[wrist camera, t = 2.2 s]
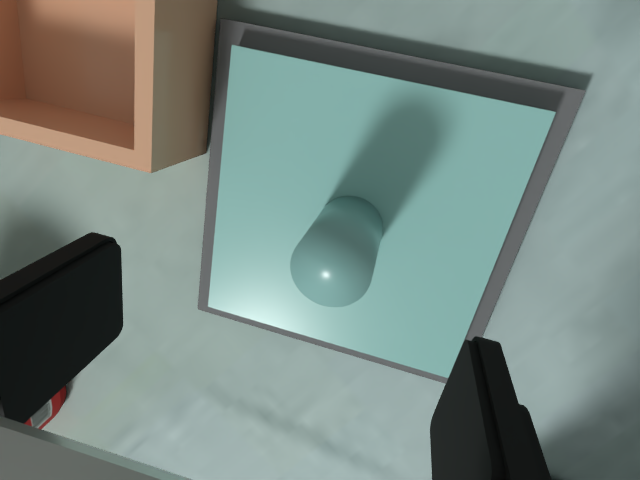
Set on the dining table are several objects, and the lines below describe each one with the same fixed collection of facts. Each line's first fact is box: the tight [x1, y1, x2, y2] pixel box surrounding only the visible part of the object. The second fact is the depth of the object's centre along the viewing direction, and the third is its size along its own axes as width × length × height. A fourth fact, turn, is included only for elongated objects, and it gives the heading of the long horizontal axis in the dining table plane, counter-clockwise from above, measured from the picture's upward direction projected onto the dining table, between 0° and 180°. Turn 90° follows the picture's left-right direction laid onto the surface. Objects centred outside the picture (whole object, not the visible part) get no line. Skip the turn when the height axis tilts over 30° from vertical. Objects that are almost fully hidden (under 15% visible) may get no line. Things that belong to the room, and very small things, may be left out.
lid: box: [208, 45, 556, 378], centre depth 18 cm, size 14×14×6 cm
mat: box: [198, 18, 585, 383], centre depth 21 cm, size 16×16×1 cm
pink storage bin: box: [0, 0, 218, 173], centre depth 18 cm, size 11×11×5 cm
